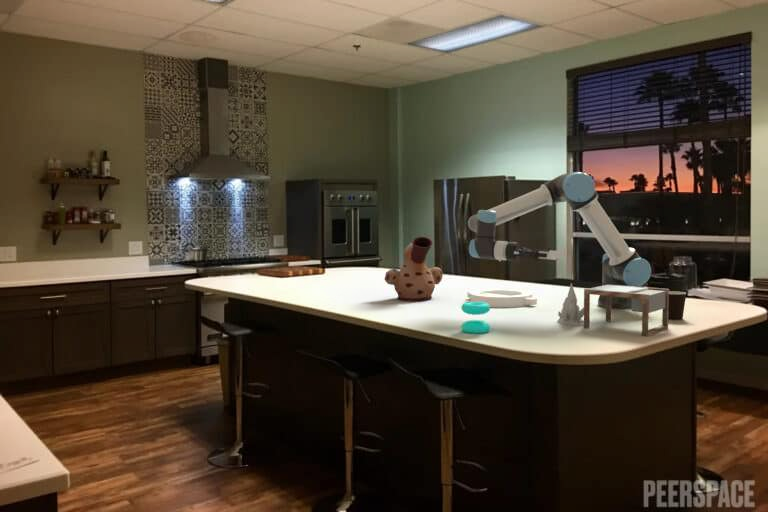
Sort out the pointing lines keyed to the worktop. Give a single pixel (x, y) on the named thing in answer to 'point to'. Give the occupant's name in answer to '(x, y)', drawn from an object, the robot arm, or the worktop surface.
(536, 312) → the worktop surface
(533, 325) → the worktop surface
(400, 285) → the vessel
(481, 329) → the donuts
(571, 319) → the crystal
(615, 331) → the worktop surface
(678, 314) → the coffee mug
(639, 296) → the stand
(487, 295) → the white ring
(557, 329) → the worktop surface
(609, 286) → the trapdoor
